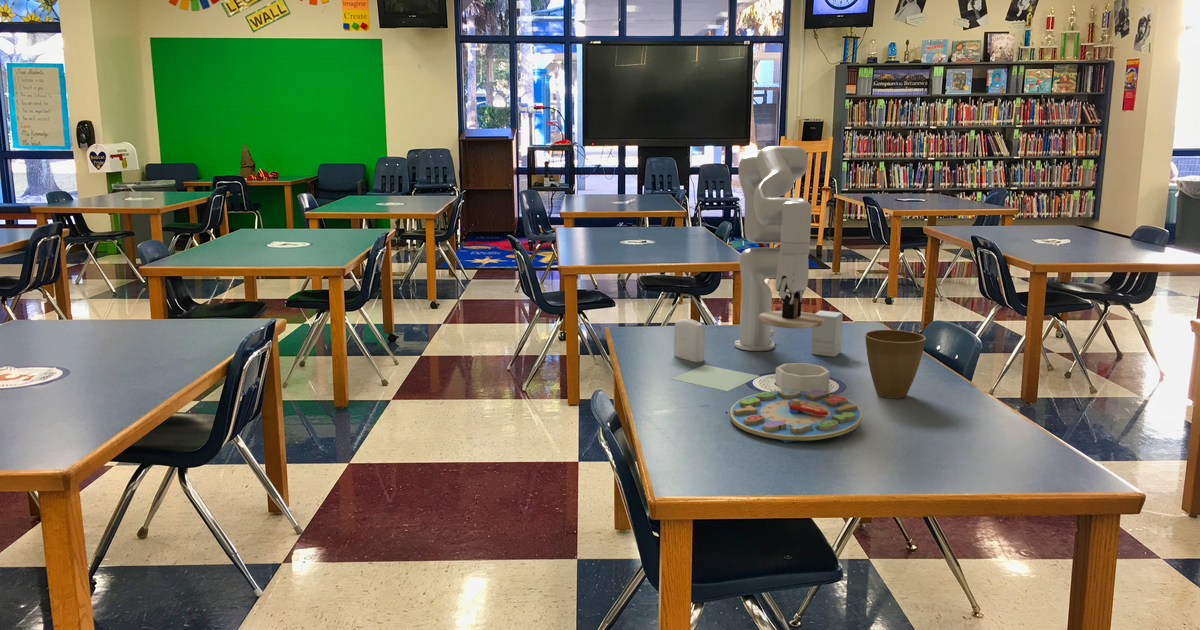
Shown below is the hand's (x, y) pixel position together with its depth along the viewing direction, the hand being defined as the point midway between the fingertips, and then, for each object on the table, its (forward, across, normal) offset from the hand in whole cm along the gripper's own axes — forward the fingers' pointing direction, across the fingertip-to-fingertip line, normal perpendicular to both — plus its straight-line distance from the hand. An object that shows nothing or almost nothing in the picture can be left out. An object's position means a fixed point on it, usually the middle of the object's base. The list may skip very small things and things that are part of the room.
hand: (791, 316), depth 234 cm
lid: (+1, 0, 0) cm, 1 cm away
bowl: (+19, -1, +3) cm, 20 cm away
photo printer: (+20, -6, -36) cm, 41 cm away
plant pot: (+20, -11, +24) cm, 33 cm away
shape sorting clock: (+20, +25, +15) cm, 36 cm away
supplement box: (+20, -39, -8) cm, 44 cm away
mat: (+19, +7, -18) cm, 28 cm away
